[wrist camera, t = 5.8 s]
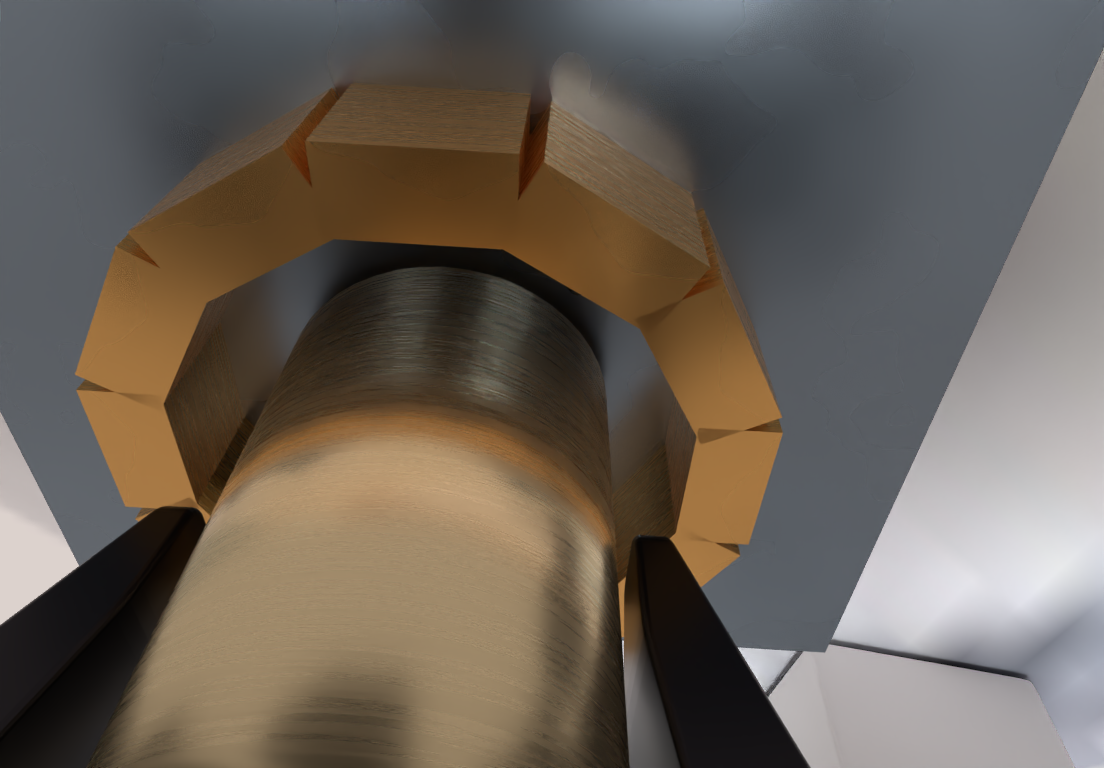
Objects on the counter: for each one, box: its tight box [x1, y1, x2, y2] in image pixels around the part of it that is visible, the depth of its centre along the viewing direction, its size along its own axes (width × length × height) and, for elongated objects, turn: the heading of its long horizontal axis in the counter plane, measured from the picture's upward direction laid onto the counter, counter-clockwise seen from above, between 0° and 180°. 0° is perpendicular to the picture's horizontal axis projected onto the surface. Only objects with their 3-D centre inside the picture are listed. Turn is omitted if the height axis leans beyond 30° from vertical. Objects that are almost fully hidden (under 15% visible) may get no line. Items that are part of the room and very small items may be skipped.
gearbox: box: [0, 0, 1104, 653], centre depth 12 cm, size 17×12×6 cm
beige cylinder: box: [86, 267, 630, 768], centre depth 8 cm, size 4×4×7 cm
